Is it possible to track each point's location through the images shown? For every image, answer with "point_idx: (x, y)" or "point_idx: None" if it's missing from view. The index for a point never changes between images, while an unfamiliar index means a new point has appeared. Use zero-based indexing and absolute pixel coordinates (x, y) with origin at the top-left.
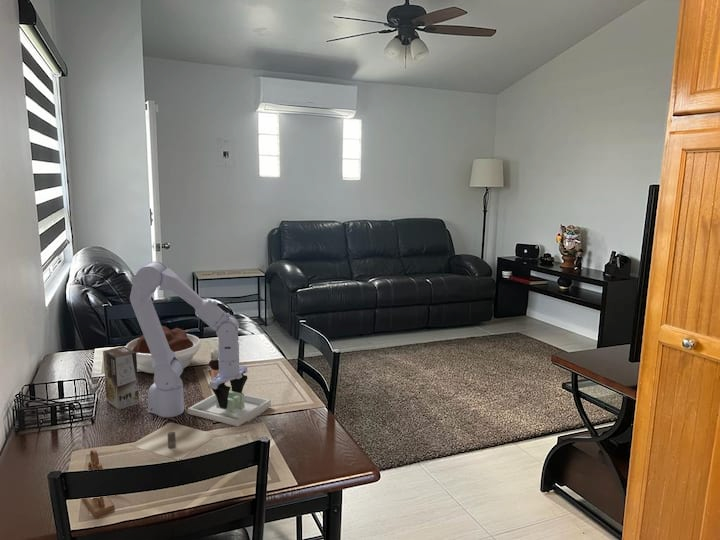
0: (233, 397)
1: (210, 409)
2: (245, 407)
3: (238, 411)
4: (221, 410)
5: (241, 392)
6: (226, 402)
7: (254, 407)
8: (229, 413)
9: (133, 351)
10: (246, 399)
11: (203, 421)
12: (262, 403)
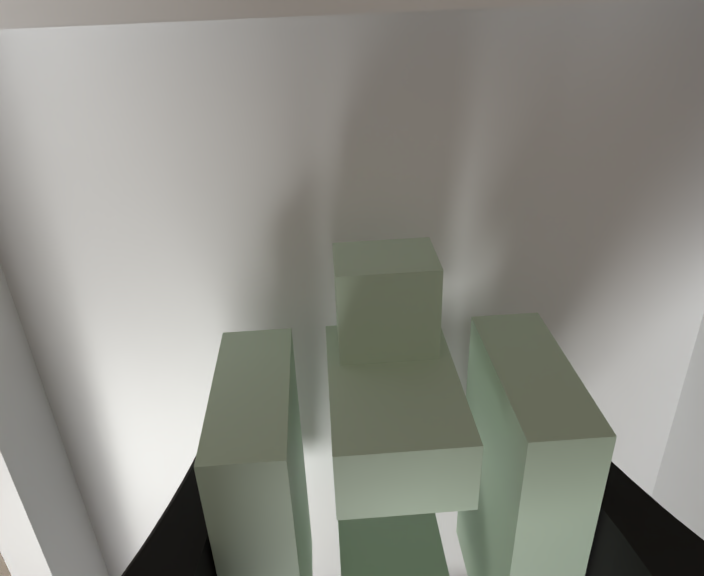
0: (464, 502)
1: (456, 557)
2: (189, 305)
3: None
4: None
5: (165, 536)
6: (618, 480)
7: (100, 195)
8: (451, 355)
9: None
10: (32, 425)
11: None
12: (23, 15)
